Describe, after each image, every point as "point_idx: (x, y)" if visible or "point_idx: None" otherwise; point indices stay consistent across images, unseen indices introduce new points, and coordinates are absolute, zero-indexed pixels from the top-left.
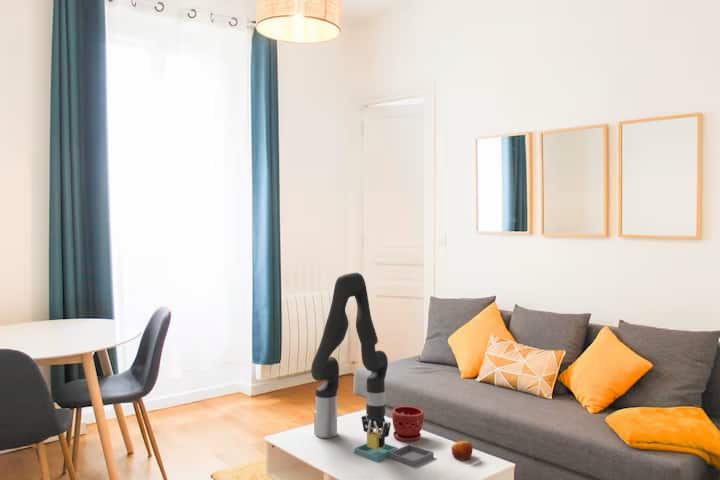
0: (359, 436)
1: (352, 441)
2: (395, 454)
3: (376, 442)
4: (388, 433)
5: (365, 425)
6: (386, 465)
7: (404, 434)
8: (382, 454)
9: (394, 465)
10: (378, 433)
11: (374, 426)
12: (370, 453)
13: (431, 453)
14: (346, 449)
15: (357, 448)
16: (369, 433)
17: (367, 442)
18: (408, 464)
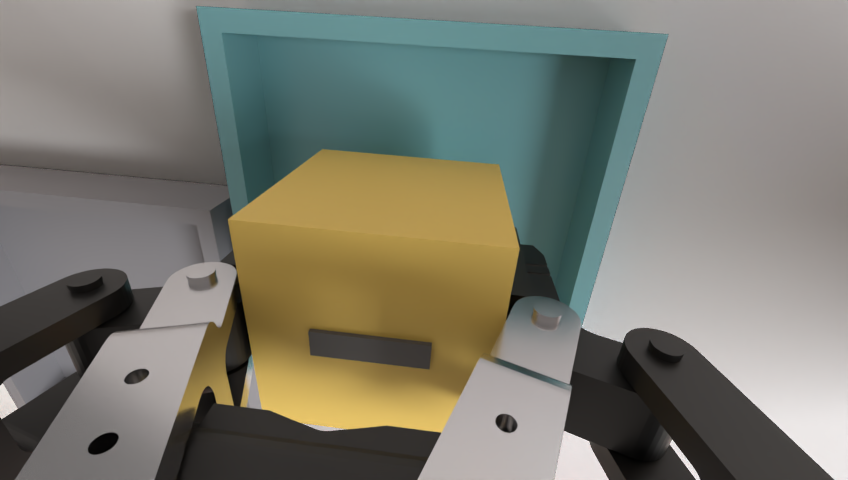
0: (808, 432)
1: (833, 318)
2: (129, 212)
3: (281, 187)
4: (48, 398)
5: (706, 471)
6: (123, 26)
7: None
8: (221, 126)
9: (83, 87)
10: (204, 318)
11: (281, 472)
12: (333, 31)
13: (12, 393)
14: (812, 96)
15: (624, 84)
16: (490, 302)
17: (491, 182)
18: (2, 170)
